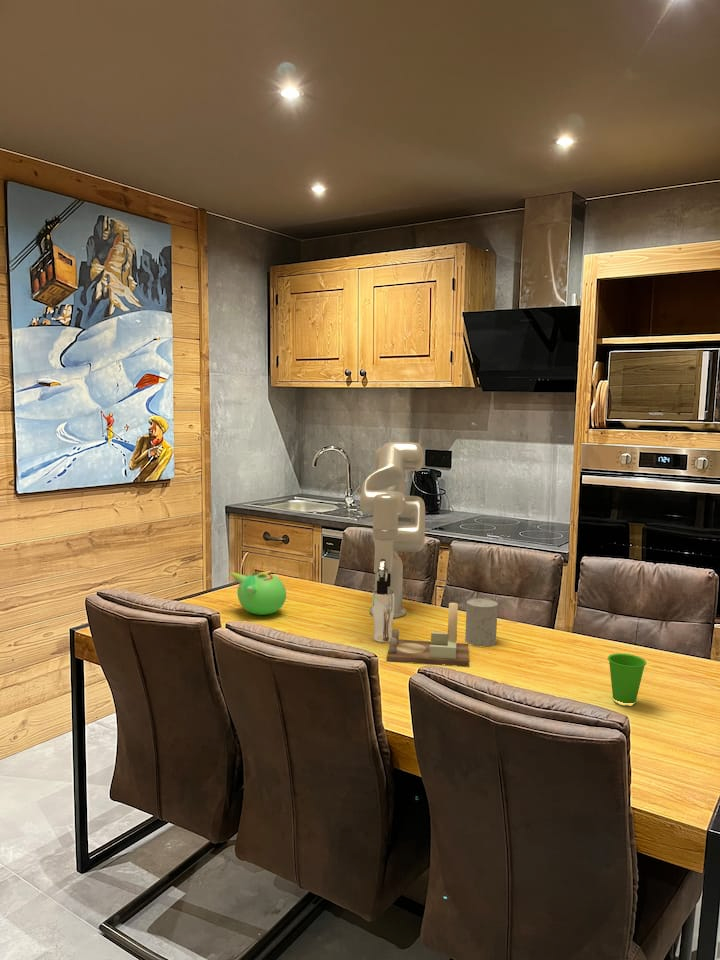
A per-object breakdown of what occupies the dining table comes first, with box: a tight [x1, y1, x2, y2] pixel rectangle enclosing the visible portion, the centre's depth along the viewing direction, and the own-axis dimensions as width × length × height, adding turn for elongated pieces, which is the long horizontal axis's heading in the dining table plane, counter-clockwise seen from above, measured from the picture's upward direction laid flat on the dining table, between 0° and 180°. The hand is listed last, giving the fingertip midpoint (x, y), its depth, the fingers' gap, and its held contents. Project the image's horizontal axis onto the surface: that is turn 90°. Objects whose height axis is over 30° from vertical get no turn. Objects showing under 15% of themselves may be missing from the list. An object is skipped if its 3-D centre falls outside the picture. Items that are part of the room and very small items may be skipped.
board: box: [386, 628, 470, 667], centre depth 212 cm, size 15×23×6 cm, turn 82°
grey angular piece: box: [429, 602, 459, 659], centre depth 211 cm, size 13×8×14 cm, turn 172°
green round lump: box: [229, 570, 287, 616], centre depth 248 cm, size 18×17×15 cm
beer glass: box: [371, 589, 395, 643], centre depth 224 cm, size 7×7×15 cm
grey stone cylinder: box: [464, 597, 499, 648], centre depth 224 cm, size 10×10×12 cm
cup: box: [607, 652, 647, 703], centre depth 180 cm, size 9×9×11 cm
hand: (383, 590), depth 223 cm, fingers open, 9 cm apart
